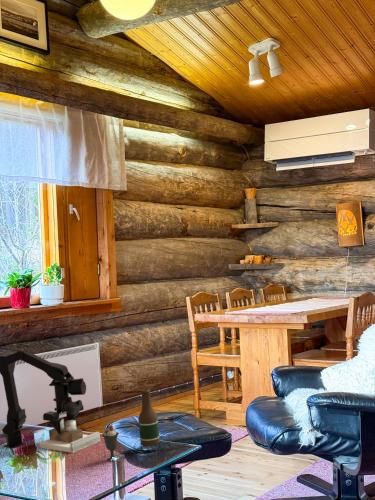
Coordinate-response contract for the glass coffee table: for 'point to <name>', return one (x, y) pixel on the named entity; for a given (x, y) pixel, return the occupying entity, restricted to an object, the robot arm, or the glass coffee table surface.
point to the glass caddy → (66, 432)
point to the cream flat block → (72, 446)
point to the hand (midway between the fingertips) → (65, 431)
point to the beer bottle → (148, 421)
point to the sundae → (110, 440)
